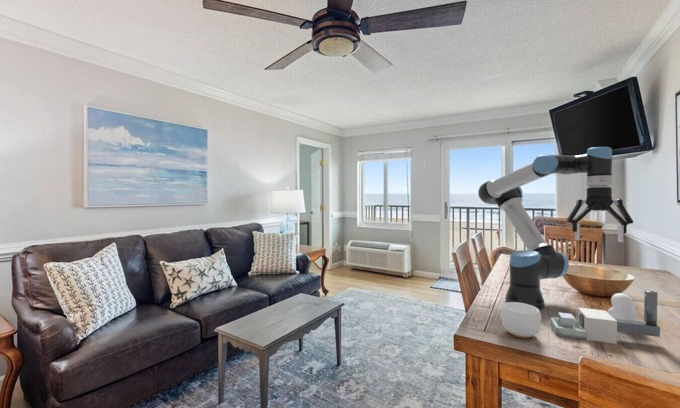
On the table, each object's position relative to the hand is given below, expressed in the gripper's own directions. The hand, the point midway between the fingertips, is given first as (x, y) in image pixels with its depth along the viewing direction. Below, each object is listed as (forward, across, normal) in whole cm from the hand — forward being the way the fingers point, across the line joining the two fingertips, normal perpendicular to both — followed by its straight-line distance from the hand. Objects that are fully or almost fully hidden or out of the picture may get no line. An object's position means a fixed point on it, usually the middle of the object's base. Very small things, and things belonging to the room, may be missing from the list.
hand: (598, 241), depth 121 cm
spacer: (+27, -13, -19) cm, 36 cm away
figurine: (+31, +6, -6) cm, 32 cm away
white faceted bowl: (+31, -30, -28) cm, 51 cm away
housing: (+31, -6, -19) cm, 37 cm away
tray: (+31, -14, -19) cm, 39 cm away
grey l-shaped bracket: (+28, 0, -19) cm, 34 cm away
